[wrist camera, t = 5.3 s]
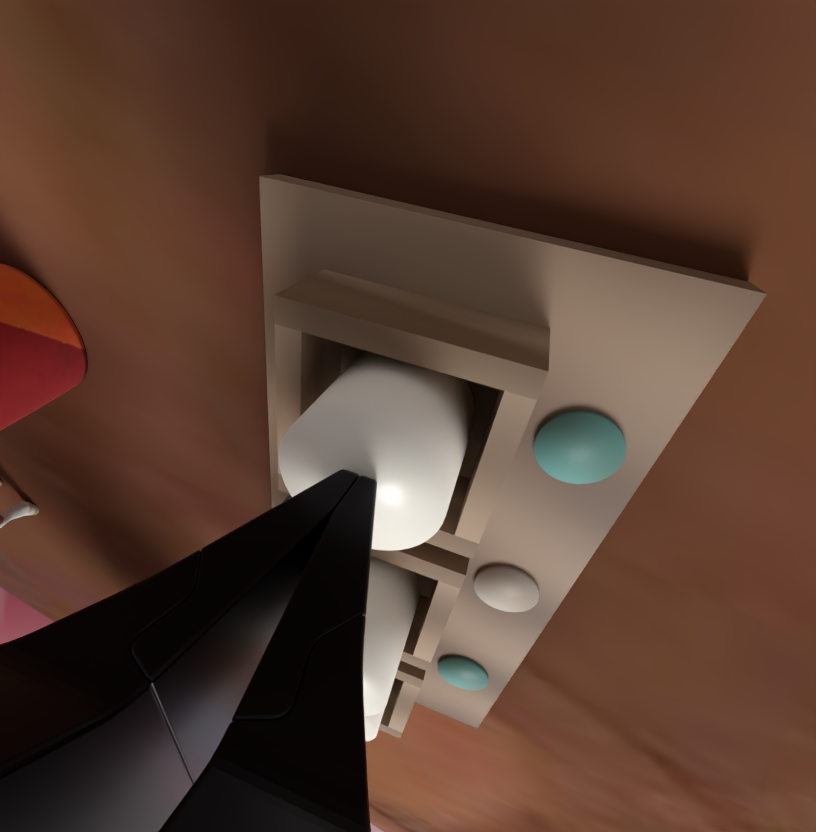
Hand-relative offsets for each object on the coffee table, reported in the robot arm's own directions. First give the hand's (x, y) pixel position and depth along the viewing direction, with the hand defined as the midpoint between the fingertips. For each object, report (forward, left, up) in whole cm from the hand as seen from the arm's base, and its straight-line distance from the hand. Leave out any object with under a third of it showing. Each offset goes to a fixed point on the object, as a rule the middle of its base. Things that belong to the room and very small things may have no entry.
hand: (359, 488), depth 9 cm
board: (-7, -1, -5) cm, 9 cm away
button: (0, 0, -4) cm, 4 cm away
